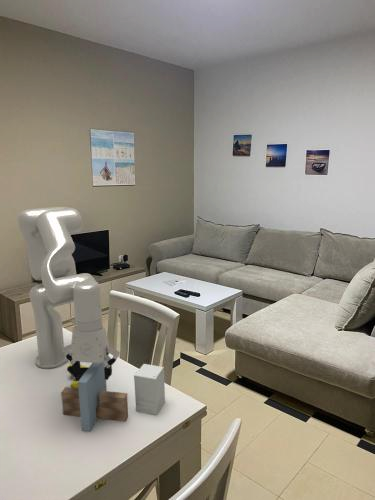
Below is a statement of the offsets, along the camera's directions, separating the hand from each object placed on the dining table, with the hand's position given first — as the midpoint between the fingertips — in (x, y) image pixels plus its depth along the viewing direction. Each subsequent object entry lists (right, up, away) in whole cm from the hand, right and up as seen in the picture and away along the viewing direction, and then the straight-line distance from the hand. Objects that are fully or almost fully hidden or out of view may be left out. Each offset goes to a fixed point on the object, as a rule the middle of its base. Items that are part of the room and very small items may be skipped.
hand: (92, 375), depth 114 cm
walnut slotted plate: (0, -13, +3) cm, 14 cm away
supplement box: (+17, -12, +7) cm, 22 cm away
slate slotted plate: (0, -13, +3) cm, 14 cm away
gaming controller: (-8, -10, +19) cm, 23 cm away
